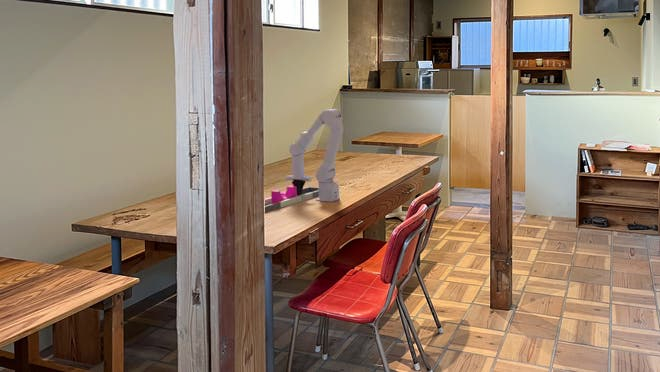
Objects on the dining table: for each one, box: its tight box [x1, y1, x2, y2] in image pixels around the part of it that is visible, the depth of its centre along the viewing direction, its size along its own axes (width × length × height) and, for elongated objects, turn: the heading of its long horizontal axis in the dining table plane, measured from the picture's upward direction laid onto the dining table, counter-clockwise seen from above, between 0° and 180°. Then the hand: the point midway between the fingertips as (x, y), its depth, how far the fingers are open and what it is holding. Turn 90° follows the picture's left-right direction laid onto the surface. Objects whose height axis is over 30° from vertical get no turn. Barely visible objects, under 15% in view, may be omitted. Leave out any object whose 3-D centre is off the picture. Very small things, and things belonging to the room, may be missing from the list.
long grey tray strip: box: [264, 186, 319, 213], centre depth 338 cm, size 12×50×2 cm, turn 146°
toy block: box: [270, 185, 297, 204], centre depth 333 cm, size 15×6×8 cm, turn 147°
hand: (299, 194), depth 345 cm, fingers closed
